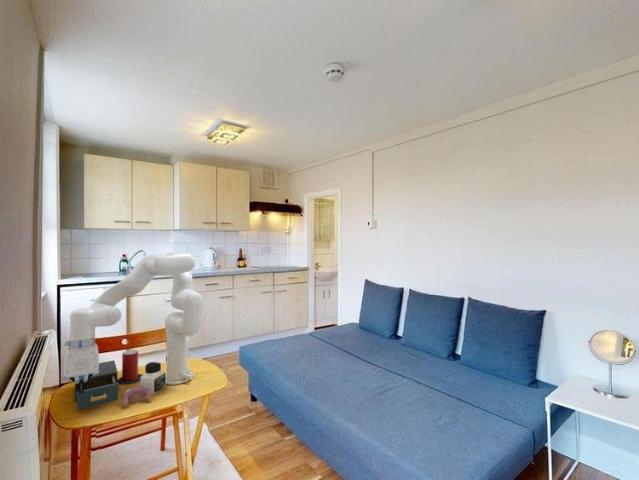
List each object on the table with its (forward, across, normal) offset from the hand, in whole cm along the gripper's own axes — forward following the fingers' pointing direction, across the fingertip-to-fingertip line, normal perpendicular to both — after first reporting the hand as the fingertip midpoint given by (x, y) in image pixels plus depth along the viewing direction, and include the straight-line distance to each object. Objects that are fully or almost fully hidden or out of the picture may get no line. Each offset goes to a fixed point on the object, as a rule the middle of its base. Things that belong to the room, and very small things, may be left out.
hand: (81, 392), depth 117 cm
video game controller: (+10, +18, +2) cm, 21 cm away
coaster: (+9, +19, +26) cm, 34 cm away
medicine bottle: (+10, +26, +9) cm, 29 cm away
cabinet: (+10, +6, +24) cm, 27 cm away
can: (+9, +19, +26) cm, 33 cm away
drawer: (+9, +6, +11) cm, 15 cm away
